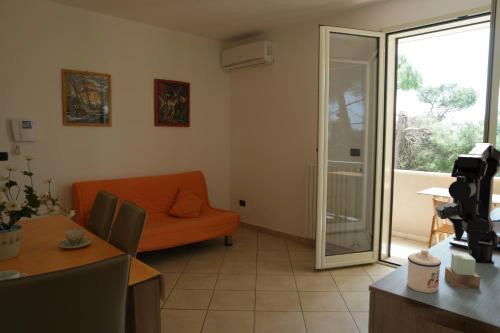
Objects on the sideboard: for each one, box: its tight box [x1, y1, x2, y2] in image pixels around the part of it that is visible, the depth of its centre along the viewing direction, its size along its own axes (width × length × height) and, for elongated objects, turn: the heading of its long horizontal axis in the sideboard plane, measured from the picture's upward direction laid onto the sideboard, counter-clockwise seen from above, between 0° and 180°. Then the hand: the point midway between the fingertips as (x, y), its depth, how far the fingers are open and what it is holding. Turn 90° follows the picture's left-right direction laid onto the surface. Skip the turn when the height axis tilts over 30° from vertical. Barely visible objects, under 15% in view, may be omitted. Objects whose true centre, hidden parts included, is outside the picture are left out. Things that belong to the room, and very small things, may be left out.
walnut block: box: [444, 266, 481, 290], centre depth 111 cm, size 7×7×4 cm
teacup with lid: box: [406, 249, 442, 294], centre depth 109 cm, size 12×9×12 cm
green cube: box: [450, 252, 477, 276], centre depth 111 cm, size 5×5×5 cm
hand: (463, 245), depth 110 cm, fingers open, 9 cm apart
